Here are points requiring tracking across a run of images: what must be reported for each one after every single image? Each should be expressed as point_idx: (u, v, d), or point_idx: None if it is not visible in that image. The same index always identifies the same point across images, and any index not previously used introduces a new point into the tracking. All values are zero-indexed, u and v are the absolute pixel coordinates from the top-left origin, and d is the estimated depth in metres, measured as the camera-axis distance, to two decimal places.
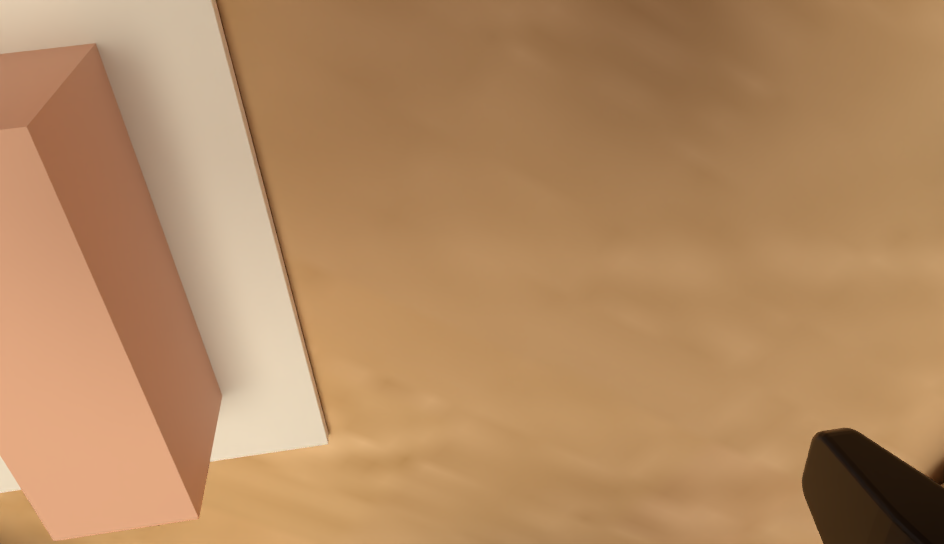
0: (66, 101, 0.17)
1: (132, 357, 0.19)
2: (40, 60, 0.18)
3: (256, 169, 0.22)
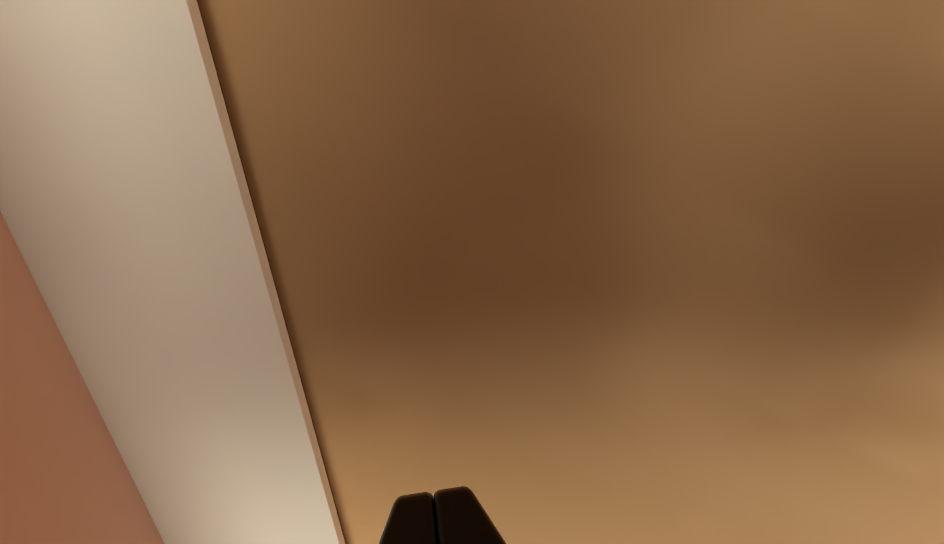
0: None
1: None
2: None
3: (248, 216, 0.11)
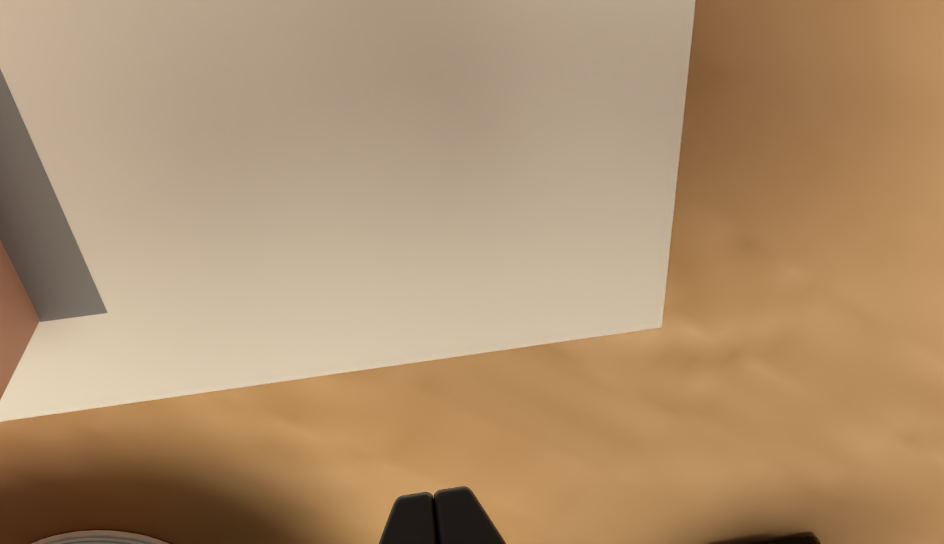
0: None
1: None
2: None
3: None
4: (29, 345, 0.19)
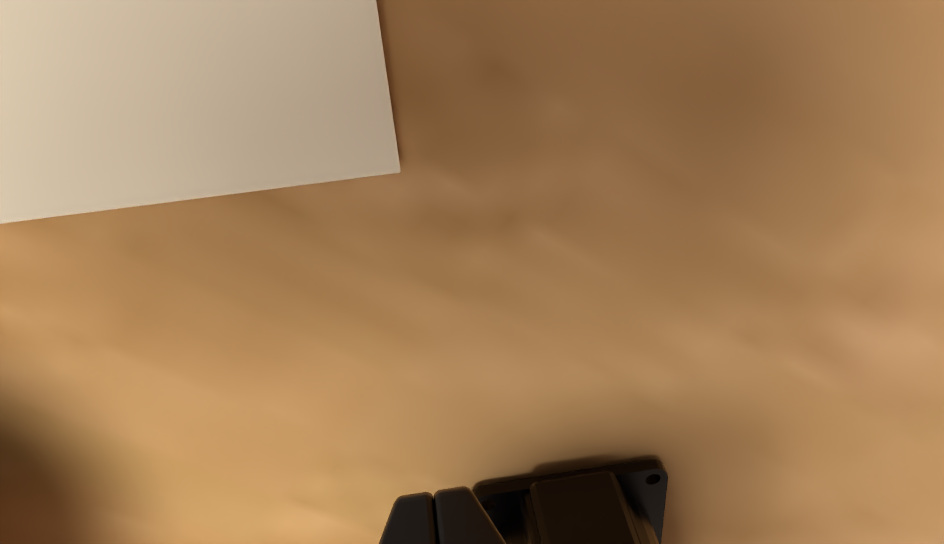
0: None
1: None
2: None
3: None
4: None
